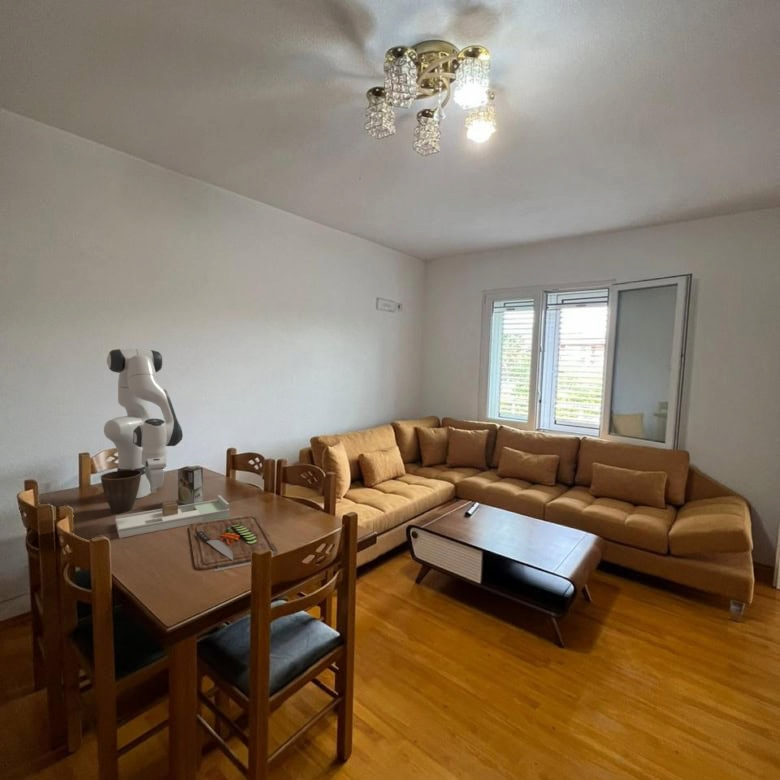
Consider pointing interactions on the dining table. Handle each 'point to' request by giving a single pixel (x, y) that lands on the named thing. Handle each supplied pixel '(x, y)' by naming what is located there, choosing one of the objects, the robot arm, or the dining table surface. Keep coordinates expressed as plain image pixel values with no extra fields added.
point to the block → (170, 508)
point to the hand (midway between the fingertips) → (153, 492)
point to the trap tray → (171, 517)
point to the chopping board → (228, 542)
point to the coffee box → (190, 485)
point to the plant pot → (121, 489)
